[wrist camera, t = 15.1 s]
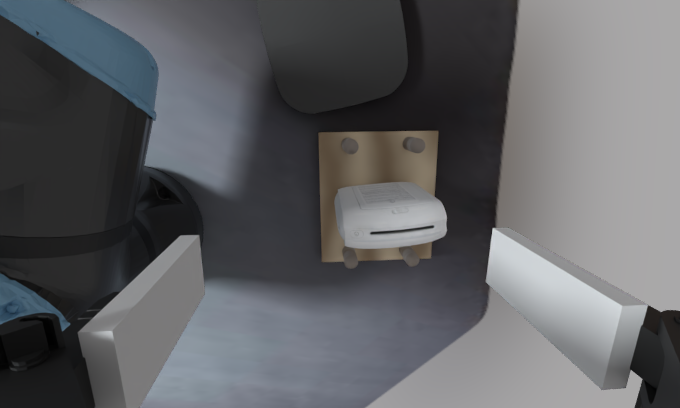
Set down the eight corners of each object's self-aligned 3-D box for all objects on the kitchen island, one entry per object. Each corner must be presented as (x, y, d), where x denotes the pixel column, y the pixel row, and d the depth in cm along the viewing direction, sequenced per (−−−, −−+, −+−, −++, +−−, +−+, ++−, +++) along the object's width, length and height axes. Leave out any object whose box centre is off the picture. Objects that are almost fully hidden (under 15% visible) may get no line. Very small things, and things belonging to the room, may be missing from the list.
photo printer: (334, 220, 41) (341, 261, 29) (331, 185, 40) (337, 214, 28) (417, 212, 42) (457, 250, 30) (416, 178, 41) (458, 202, 29)
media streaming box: (251, -17, 36) (245, -29, 33) (384, -49, 36) (390, -63, 33) (287, 121, 39) (285, 121, 37) (408, 92, 40) (415, 90, 37)
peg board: (321, 258, 44) (322, 274, 39) (318, 132, 40) (318, 133, 35) (427, 254, 44) (440, 270, 40) (435, 130, 40) (449, 132, 36)
